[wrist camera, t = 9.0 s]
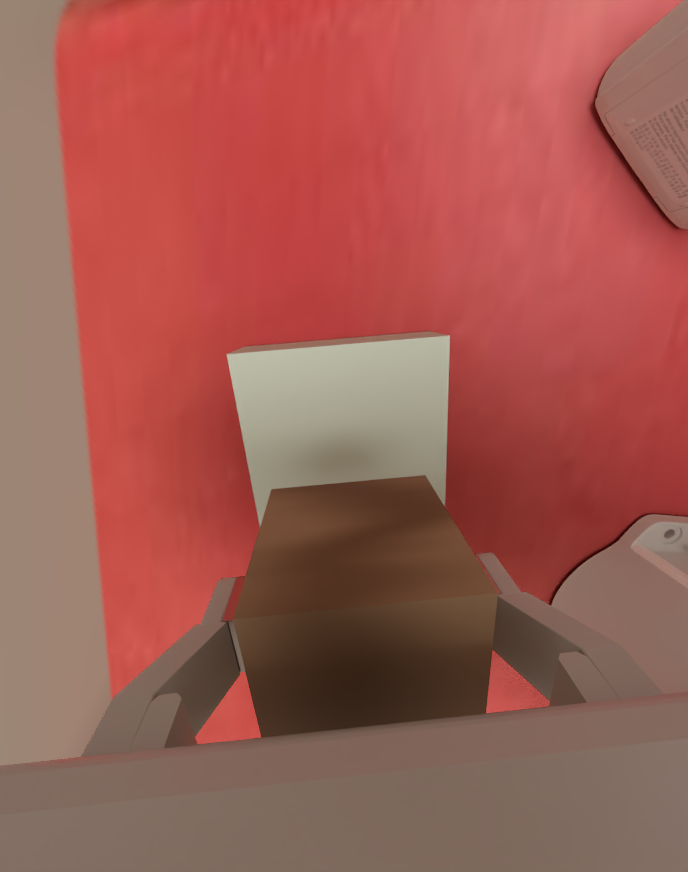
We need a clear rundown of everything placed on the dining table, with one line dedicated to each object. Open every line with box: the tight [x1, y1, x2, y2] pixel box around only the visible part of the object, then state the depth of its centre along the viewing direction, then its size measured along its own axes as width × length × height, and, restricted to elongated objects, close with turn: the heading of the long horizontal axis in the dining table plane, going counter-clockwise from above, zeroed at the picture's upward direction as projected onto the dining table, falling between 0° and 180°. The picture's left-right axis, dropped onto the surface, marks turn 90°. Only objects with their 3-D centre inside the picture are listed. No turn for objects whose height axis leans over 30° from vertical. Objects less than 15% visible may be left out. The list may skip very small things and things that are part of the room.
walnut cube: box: [233, 475, 498, 738], centre depth 10 cm, size 5×5×5 cm
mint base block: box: [227, 331, 450, 526], centre depth 22 cm, size 12×12×4 cm
